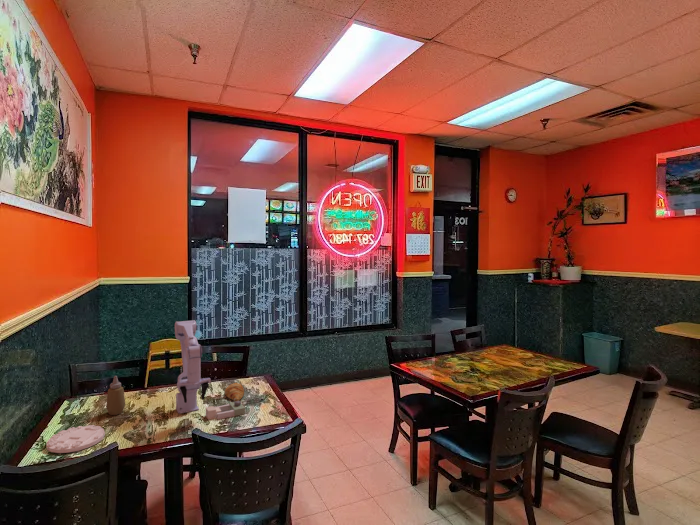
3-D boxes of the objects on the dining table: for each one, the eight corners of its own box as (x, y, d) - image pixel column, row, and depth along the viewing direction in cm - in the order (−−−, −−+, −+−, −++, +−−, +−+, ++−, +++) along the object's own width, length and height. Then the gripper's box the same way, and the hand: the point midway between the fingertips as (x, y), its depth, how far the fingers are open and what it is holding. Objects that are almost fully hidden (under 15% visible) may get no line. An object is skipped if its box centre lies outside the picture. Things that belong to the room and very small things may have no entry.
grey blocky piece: (217, 419, 188) (217, 410, 188) (212, 412, 197) (212, 402, 197) (245, 413, 195) (245, 404, 195) (238, 406, 204) (238, 397, 203)
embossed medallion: (68, 459, 154) (67, 451, 154) (34, 448, 161) (34, 441, 161) (115, 436, 172) (115, 429, 172) (83, 427, 179) (83, 421, 179)
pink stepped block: (208, 419, 189) (208, 411, 188) (205, 416, 193) (205, 407, 193) (221, 417, 192) (221, 408, 192) (218, 413, 196) (218, 404, 196)
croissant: (242, 408, 210) (250, 394, 211) (225, 402, 206) (232, 388, 207) (236, 393, 229) (243, 381, 230) (220, 387, 226) (227, 374, 227)
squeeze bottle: (116, 417, 190) (116, 379, 189) (102, 415, 192) (101, 378, 191) (129, 410, 198) (128, 374, 197) (115, 408, 200) (114, 373, 199)
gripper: (178, 376, 179) (179, 406, 180) (212, 371, 187) (212, 400, 188) (176, 372, 185) (176, 401, 186) (208, 367, 193) (208, 395, 194)
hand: (194, 400), depth 187 cm, fingers open, 7 cm apart
